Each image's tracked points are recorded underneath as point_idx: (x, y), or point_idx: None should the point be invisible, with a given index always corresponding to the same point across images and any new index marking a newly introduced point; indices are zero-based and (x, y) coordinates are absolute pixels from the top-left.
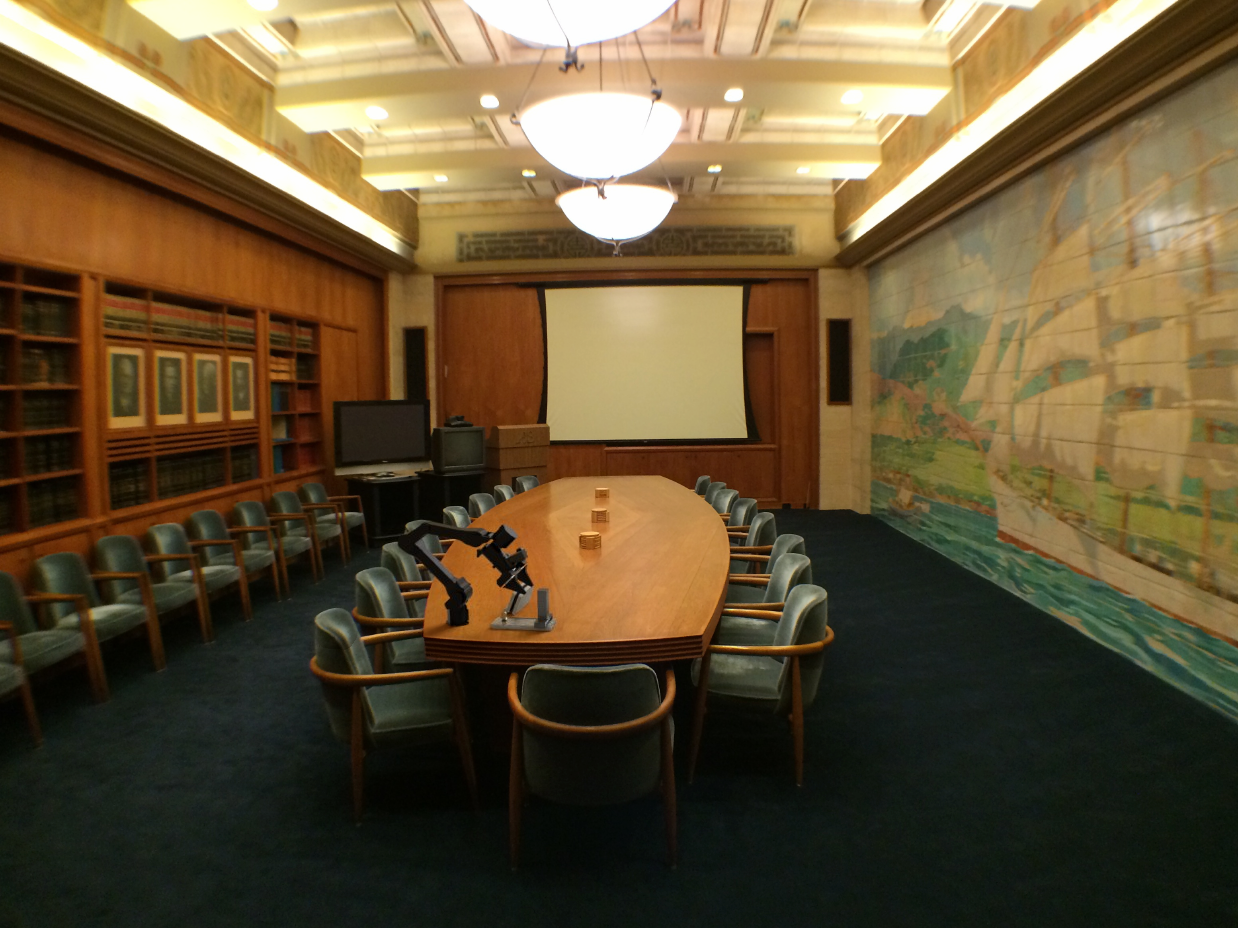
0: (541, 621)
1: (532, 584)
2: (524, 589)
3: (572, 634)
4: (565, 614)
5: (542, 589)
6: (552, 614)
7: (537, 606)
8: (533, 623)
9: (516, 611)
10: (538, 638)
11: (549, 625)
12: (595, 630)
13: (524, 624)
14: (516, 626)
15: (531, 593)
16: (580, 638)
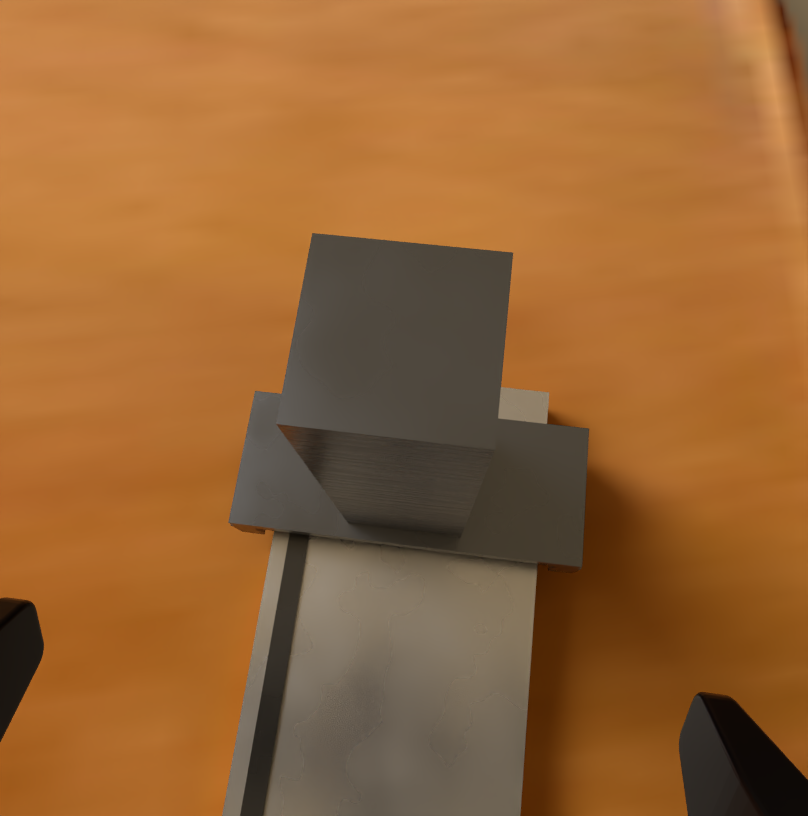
0: (537, 482)
1: (13, 628)
2: (745, 767)
3: (626, 212)
4: (63, 323)
5: (388, 343)
6: (262, 395)
7: (469, 510)
8: (457, 595)
9: None
10: (768, 500)
11: (519, 409)
12: (516, 55)
13: (493, 703)
14: (517, 805)
15: None
16: (717, 145)
